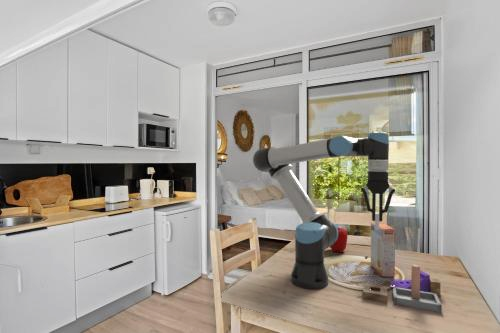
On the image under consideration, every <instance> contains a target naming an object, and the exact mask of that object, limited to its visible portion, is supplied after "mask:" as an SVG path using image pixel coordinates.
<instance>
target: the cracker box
mask: <svg viewBox="0 0 500 333" xmlns="http://www.w3.org/2000/svg"><path fill="white" fill-rule="evenodd" d="M370 266H371V268H373V270H374V271H376V273H378V275H379V276H381V277H386V278H387V277H388V278H395V277H396V276H395V272H396V229H395V228H393V227H392V226H389V225H388V224H386V223H383V222H379V230H375V222H371V223H370Z"/></svg>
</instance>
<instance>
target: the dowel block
mask: <svg viewBox="0 0 500 333" xmlns="http://www.w3.org/2000/svg"><path fill="white" fill-rule="evenodd" d="M370 289H371V290H370ZM362 290H363V291H362V294H363V296H362V298H363V299H364V300H368V301H369V300H370V301H376V302H382V303H385V304H386V303H387V304H388V303H389V302H388V301H389V300H388V299H389V298H388V287H387V286H386V285H377V284H375V283H367V282H364V283H363V288H362Z"/></svg>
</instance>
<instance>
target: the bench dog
mask: <svg viewBox="0 0 500 333" xmlns="http://www.w3.org/2000/svg"><path fill="white" fill-rule="evenodd" d="M429 293H436V294H437V296H438V297H441V281H440V280H439V278H437V277H436V278H435V277H430V292H429Z"/></svg>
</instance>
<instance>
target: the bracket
mask: <svg viewBox="0 0 500 333" xmlns="http://www.w3.org/2000/svg"><path fill="white" fill-rule="evenodd" d="M430 278H431V276H430V274H428V273H426V272H425V271H423V270H421V269H420V291H423V292H429V293H430ZM389 285H392V286H393V285H395V287H398V288H404V289H410V290H411V279H404V280H403V279H402V280H400V279H399V280H393V281H391V282H389V284H388V286H389Z"/></svg>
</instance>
